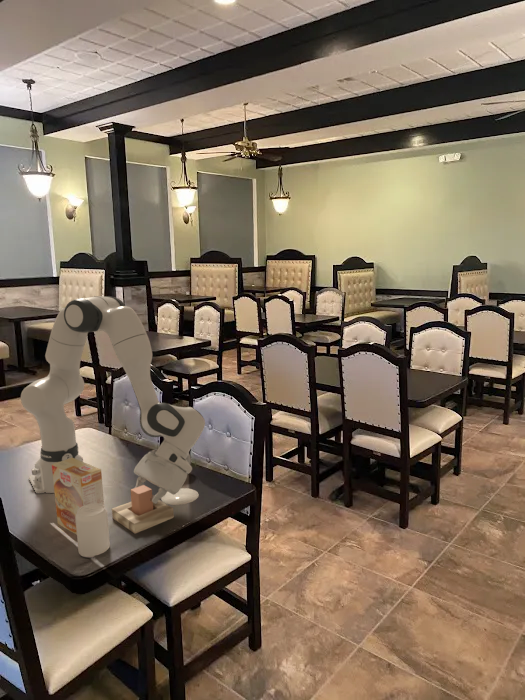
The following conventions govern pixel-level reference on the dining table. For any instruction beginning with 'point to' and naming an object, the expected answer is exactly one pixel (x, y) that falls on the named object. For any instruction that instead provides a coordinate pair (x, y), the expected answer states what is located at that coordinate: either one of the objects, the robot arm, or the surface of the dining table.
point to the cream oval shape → (180, 497)
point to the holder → (142, 516)
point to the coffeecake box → (75, 489)
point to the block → (141, 500)
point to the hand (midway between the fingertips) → (144, 497)
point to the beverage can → (92, 530)
